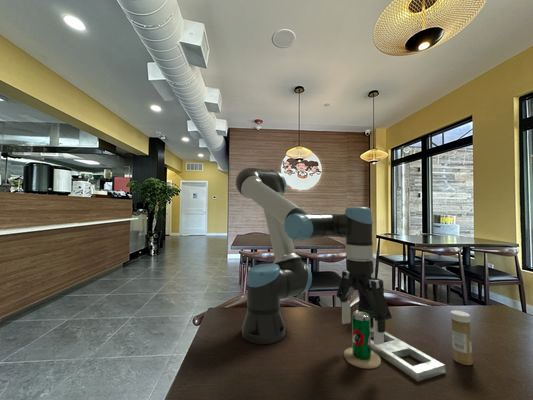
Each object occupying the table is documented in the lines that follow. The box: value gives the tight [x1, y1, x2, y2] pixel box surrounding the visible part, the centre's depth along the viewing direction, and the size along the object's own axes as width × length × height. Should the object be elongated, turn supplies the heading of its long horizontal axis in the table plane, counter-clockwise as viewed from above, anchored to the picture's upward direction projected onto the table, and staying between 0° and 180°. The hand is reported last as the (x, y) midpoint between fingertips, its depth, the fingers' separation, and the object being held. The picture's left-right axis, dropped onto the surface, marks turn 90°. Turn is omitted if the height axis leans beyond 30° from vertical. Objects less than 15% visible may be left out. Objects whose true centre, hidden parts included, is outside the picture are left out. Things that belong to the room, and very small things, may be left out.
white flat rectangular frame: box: [370, 326, 446, 382], centre depth 75 cm, size 24×10×2 cm, turn 20°
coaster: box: [343, 346, 382, 370], centre depth 72 cm, size 10×10×1 cm
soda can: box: [351, 310, 372, 360], centre depth 72 cm, size 5×5×12 cm
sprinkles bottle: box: [450, 309, 474, 366], centre depth 71 cm, size 5×5×14 cm
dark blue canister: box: [357, 277, 385, 323], centre depth 101 cm, size 10×10×15 cm
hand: (361, 332), depth 73 cm, fingers open, 13 cm apart
